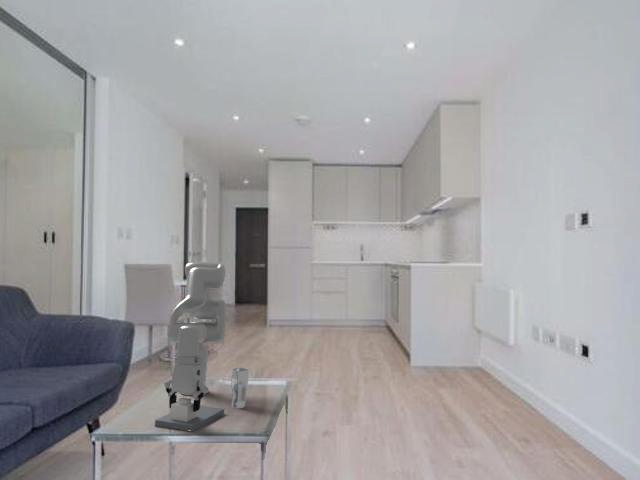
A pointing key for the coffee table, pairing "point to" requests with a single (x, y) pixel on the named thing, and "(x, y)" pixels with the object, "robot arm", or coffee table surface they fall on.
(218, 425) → the coffee table surface
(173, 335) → the robot arm
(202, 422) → the flat gray board
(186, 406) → the knob
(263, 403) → the coffee table surface
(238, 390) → the beer glass
